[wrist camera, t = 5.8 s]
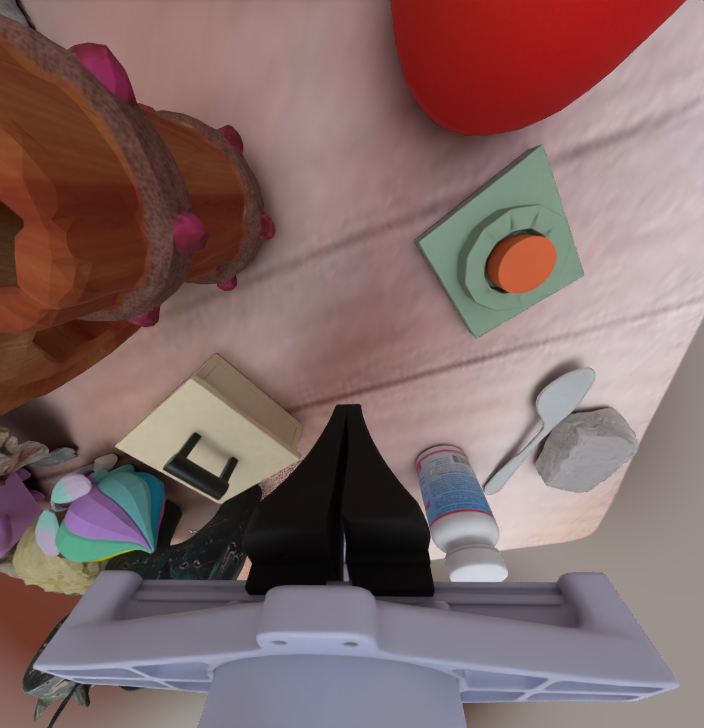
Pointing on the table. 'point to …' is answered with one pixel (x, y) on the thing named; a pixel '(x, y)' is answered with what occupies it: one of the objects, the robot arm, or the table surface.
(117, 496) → the toy
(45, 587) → the yellow lumpy mound
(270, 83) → the table surface
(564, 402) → the spoon
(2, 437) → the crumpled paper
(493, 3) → the tomato
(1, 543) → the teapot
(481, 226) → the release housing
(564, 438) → the grey faceted pebble
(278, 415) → the cream square box
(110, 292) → the mug
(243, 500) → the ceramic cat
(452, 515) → the pill bottle
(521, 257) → the button
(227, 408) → the cream square panel
